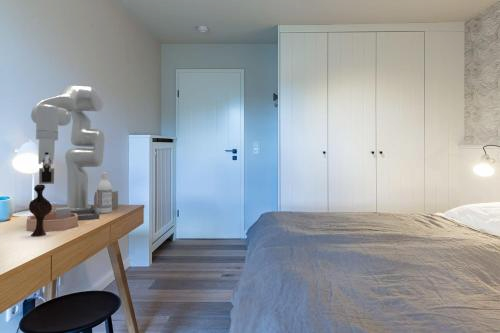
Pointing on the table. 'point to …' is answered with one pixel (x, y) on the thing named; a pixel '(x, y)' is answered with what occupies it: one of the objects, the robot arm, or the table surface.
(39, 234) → the figurine
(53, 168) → the greyish beige block
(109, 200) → the bath foam
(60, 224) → the bowl
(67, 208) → the grey sharp-edged cuboid
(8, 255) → the table surface
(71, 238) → the table surface
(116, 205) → the fossil
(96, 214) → the tray
